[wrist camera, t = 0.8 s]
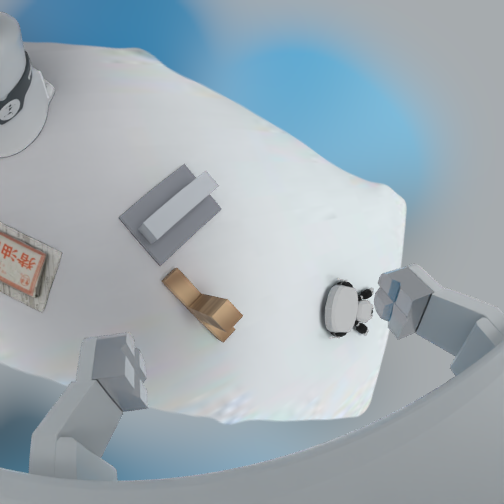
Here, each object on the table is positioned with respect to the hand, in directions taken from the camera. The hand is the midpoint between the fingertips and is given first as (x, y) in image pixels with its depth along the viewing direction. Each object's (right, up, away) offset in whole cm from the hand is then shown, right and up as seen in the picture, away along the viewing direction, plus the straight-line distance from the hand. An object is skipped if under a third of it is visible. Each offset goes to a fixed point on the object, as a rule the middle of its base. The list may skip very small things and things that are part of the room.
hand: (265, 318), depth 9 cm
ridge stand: (-14, +8, +38) cm, 42 cm away
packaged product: (-39, +1, +26) cm, 46 cm away
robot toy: (+20, -11, +55) cm, 59 cm away
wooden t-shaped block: (-10, -7, +40) cm, 41 cm away
